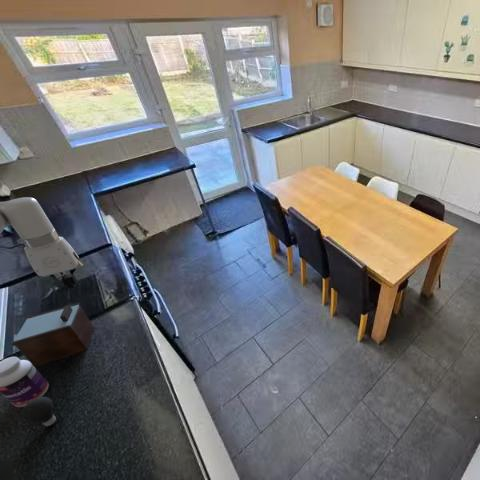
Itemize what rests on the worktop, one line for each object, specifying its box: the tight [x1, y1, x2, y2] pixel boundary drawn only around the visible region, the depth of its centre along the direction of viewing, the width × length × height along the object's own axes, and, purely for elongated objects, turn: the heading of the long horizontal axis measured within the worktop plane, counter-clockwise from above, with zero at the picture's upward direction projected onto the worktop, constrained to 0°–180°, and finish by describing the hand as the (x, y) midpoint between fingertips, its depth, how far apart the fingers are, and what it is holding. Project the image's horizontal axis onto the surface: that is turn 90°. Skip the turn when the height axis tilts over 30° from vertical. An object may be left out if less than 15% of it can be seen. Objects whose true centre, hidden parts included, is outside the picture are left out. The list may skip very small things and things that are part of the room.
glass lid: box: [12, 304, 79, 342], centre depth 91 cm, size 15×11×3 cm
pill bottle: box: [0, 356, 50, 408], centre depth 79 cm, size 8×8×14 cm
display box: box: [11, 302, 95, 368], centre depth 95 cm, size 15×13×13 cm
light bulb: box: [21, 396, 57, 427], centre depth 73 cm, size 6×6×10 cm
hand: (72, 285), depth 90 cm, fingers closed
